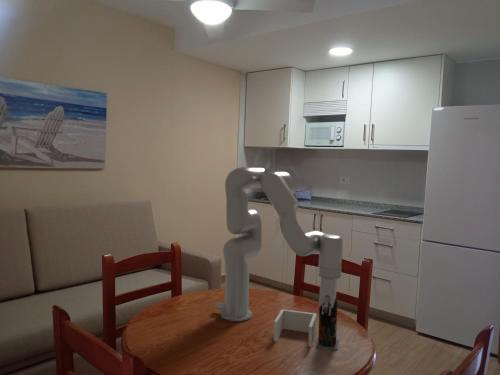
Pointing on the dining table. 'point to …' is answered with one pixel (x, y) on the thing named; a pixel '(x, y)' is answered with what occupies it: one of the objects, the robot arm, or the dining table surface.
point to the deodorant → (328, 328)
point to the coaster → (328, 347)
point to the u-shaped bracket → (295, 323)
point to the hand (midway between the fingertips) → (327, 320)
